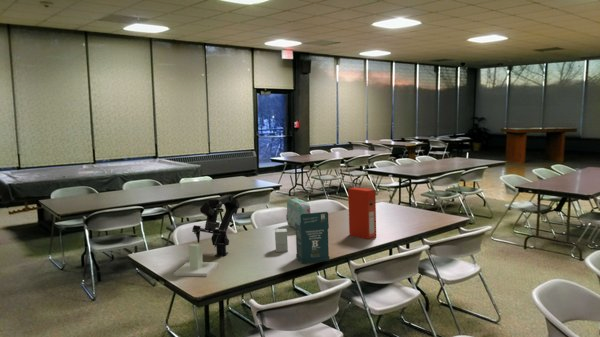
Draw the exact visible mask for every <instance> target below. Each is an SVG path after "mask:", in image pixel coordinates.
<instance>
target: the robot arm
mask: <svg viewBox="0 0 600 337" xmlns="http://www.w3.org/2000/svg"><path fill="white" fill-rule="evenodd" d="M223 206H224V209H225V212H224V215H223V217H222V220H221V222H220V221H219V222H218V221H217V220H218V215H220V213H219V211H218V210H219V209H220V208H222V207H223ZM239 209H240V202H239V201H238V199H236V198H235V197H234V196H233V195H232V194H224V195H222V196H219V197H217V198H209V199H208V201H206V202H204V204H203V205H201V207H200V209H199V211H200V213H201V214H202V215H204V216H205V217H206V220H205V226H204V228H203V227H202V228H201V225H195V224H194V225H193V226H192V231H191V232H192V233H193V234H194V235H195V237H196V241H197V242H196V243H200V238H201V237H200V236H201V233H209V234H212V236H211V237H210V238H211V243H212V246H214V249H215V248H216V250H215V251H216V253H215V254H214V257H226V256H227V255H228V254H229V251H228V252H227V246H229V245H230V239H229V238H228V235H227V232H228V229H229V225H230V223H231V221H232V218H233V216H234V214H236V213H238V210H239Z"/></svg>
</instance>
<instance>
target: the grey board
mask: <svg viewBox="0 0 600 337" xmlns="http://www.w3.org/2000/svg"><path fill="white" fill-rule="evenodd" d="M218 266H219V262H215V261H214V262H211V261H210V262H209V261H208V262H206V261H203V267H201V268H200V269H190V261H187V262H185V263H184V264H183V265H182V266H180V268H178V269H177V270H176V271H174V272H173V276H175V277H208V276H209V275H210V274H211V273H212V272H213V271H214V270H215V269H216V268H217V267H218Z"/></svg>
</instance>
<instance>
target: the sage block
mask: <svg viewBox="0 0 600 337" xmlns="http://www.w3.org/2000/svg"><path fill="white" fill-rule="evenodd" d="M188 256H189V257H188V258H189V262H190V269H200V268H201V267H203V262H204V261H203V260H204V259H203V258H204V257H203V244H202V242H199V243H198V242H193V243H190V244H188Z"/></svg>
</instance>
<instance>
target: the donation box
mask: <svg viewBox="0 0 600 337" xmlns="http://www.w3.org/2000/svg"><path fill="white" fill-rule="evenodd" d="M329 224H330V223H329V212H328V211H321V212H310V213H308V214H301V220H300V221H297V222H295V227H296V229H295V242H296V243H295V244H296V246H295V247H296V253H295V257H296V259H297V261H298V262H300V264H301V265H306V264H315V263H321V262H322V263H323V262H330V257H331V256H330V255H329V254H330V252H329V228H330V226H329Z"/></svg>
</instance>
